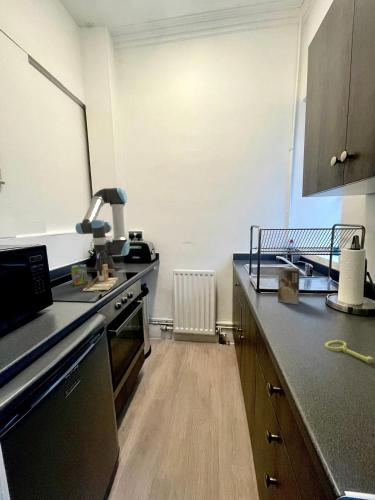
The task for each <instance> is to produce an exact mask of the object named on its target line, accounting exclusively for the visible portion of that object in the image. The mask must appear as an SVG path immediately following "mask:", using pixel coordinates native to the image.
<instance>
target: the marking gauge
mask: <svg viewBox="0 0 375 500" xmlns="http://www.w3.org/2000/svg"><path fill="white" fill-rule="evenodd" d="M109 273H111V274H112V275H114V273H115V268H114V269H108V268H107V264H103V274H104V280H102V281H107V280H108V279H109V278H110V277H109ZM96 274H97V276H98V282H101V281H99V271H97V270H96ZM97 276H96V277H97Z"/></svg>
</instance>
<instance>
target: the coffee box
mask: <svg viewBox="0 0 375 500" xmlns="http://www.w3.org/2000/svg"><path fill="white" fill-rule="evenodd" d="M300 271H301V270H300V268H299V267H286V266H279V268H278V278H277V279H278V281H277V282H278V283H277V287H278V289H277V302H278V303H287V304H291V305H299V303H300V275H301V274H300Z"/></svg>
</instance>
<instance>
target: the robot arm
mask: <svg viewBox="0 0 375 500" xmlns="http://www.w3.org/2000/svg"><path fill="white" fill-rule="evenodd" d="M127 197H128V196H127V193H126V191H125V189H124V188H122V187H113V188H109V187H108V188H105V187H104V188H101V189H100V190H98V191H96V192H95V193H94V194H93V196H92V197H91V198H90V199H91V203H90V205H89V207H88V209H87V211H86V213H85V215H84V218H83V219H82V221H81V222H77V223H76V224H75V231H76V233H77V234H79V235H89V234H90V235H92V242H93V250H94V251H95V254H96V255H95V260H96V261H95V267H94V268H95V271H96V272H97V271H99V281H102V280H104V274H103V264H107V268H108V269H114V270H115V269H116V268H115V267H116V266H115V262H114V260H113V257H118V256H120V257H122V256H127V255H129V252H130V248H131V247H130V246H131V245H130V244H131V243H130V241H128V239H127V237H126V234H125V233H126V232H125V218H124V207H125V206H126V203H127V202H128V198H127ZM106 204H109V206H110V207H111V212H112V215H111V216H112V224H111V223H110V222H107V221H104V219H97V218H98V216H99V213H100V212H101V209H102V207H103V206H104V205H106ZM112 229H113V230H112ZM112 231H113V238H112V239H107V238H106V234H108V233H110V232H112Z"/></svg>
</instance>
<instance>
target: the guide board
mask: <svg viewBox="0 0 375 500" xmlns="http://www.w3.org/2000/svg"><path fill="white" fill-rule="evenodd" d="M108 278H109V279H108V280H107V281H101V282H98V276H96V277H95V278H94V279H92V280H91V281H90V282H88V284H86V286H85V287H84V288H83V289H82V292H83V291H94V290H109V289H110V288H111V287H112V288H113V287H114V285H115V284H116V283H117V282H118V280H119V279H118V277H108ZM112 288H111V289H112ZM111 289H110V290H111ZM110 290H109V291H110Z"/></svg>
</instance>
